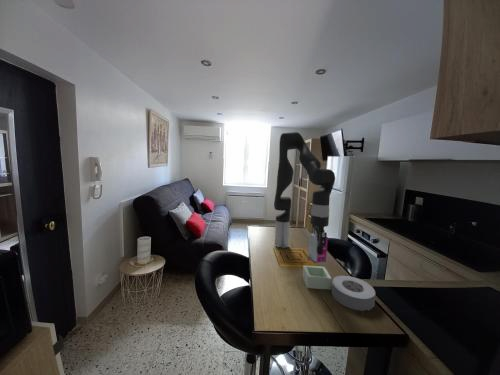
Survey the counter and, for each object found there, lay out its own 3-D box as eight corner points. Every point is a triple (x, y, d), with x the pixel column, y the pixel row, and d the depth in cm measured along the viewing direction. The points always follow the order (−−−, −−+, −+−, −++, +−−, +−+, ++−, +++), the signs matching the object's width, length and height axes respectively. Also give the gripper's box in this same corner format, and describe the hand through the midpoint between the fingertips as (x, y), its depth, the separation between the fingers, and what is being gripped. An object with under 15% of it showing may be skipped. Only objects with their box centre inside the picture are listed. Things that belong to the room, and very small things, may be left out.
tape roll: (363, 317, 67) (364, 304, 66) (324, 294, 79) (324, 282, 79) (381, 301, 76) (382, 289, 76) (343, 282, 88) (344, 271, 88)
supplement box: (315, 263, 83) (316, 237, 82) (307, 257, 89) (308, 233, 88) (326, 262, 84) (328, 236, 84) (318, 256, 90) (319, 232, 89)
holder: (302, 275, 93) (303, 265, 92) (323, 276, 92) (324, 266, 92) (307, 287, 83) (307, 276, 82) (330, 289, 82) (331, 278, 82)
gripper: (307, 210, 92) (305, 244, 94) (315, 217, 78) (312, 257, 79) (323, 211, 92) (321, 245, 93) (334, 218, 77) (331, 258, 79)
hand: (317, 250), depth 86 cm, fingers closed on supplement box, 7 cm apart
